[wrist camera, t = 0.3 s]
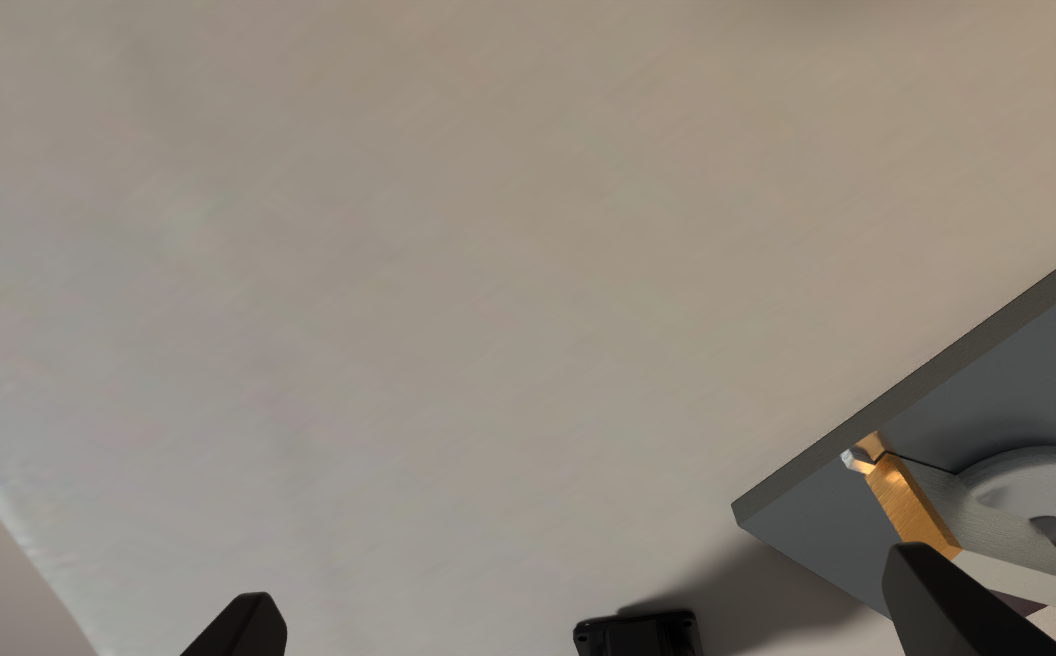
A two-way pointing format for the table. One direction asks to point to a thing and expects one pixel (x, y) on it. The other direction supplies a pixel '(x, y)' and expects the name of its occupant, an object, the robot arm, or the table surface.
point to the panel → (914, 446)
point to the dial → (981, 516)
